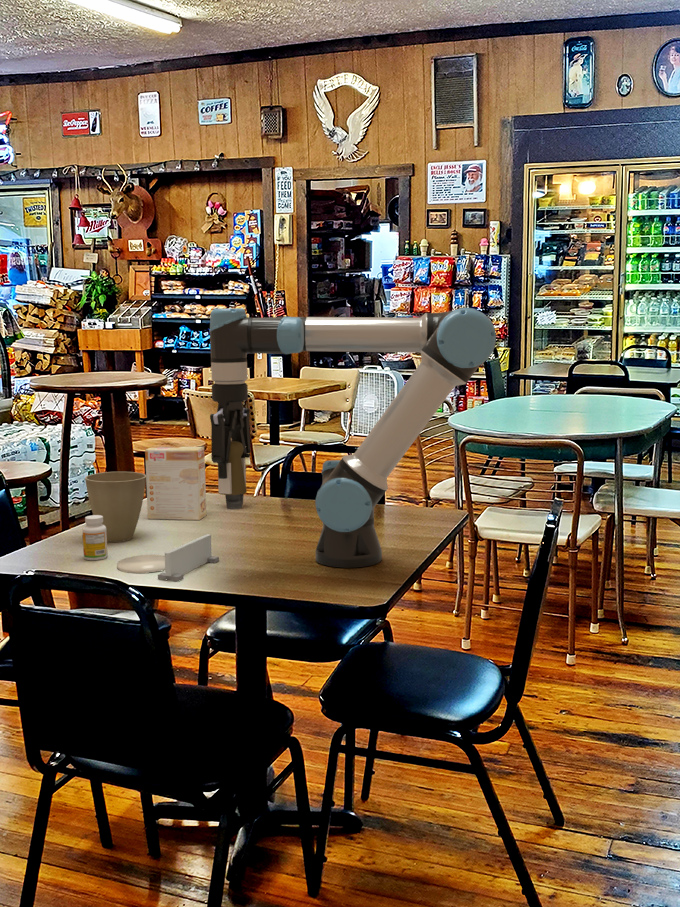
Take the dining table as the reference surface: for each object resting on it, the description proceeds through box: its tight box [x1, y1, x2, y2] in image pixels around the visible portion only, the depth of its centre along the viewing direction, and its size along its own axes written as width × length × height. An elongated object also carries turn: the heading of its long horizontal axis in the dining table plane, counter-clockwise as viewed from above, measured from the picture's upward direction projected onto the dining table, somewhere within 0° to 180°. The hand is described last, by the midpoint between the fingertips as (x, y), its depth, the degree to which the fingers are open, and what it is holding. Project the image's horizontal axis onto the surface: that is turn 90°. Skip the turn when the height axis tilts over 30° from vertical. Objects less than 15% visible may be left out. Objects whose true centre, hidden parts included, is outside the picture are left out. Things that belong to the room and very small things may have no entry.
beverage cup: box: [224, 438, 245, 510], centre depth 278 cm, size 7×7×20 cm
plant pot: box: [84, 471, 146, 543], centre depth 241 cm, size 15×15×16 cm
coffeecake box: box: [144, 446, 207, 521], centre depth 265 cm, size 15×7×20 cm, turn 82°
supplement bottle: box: [82, 514, 109, 561], centre depth 223 cm, size 5×5×10 cm
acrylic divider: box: [157, 533, 220, 582], centre depth 212 cm, size 5×18×6 cm, turn 159°
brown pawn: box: [217, 441, 248, 496], centre depth 205 cm, size 6×6×11 cm
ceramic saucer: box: [116, 554, 165, 574], centre depth 216 cm, size 13×13×1 cm
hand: (232, 490), depth 206 cm, fingers closed on brown pawn, 6 cm apart
